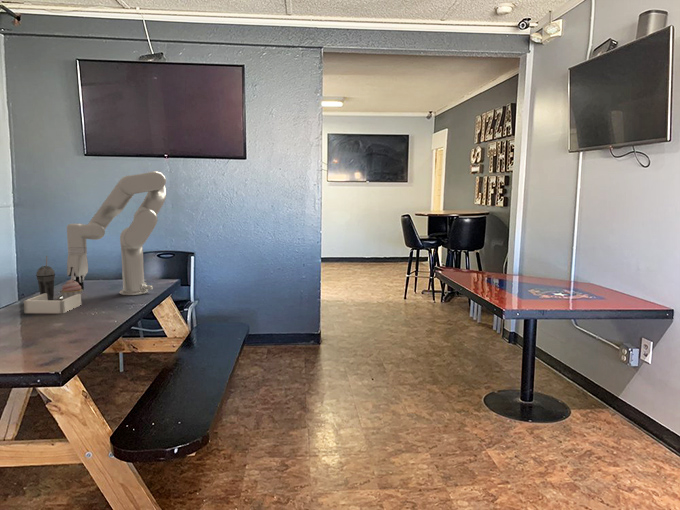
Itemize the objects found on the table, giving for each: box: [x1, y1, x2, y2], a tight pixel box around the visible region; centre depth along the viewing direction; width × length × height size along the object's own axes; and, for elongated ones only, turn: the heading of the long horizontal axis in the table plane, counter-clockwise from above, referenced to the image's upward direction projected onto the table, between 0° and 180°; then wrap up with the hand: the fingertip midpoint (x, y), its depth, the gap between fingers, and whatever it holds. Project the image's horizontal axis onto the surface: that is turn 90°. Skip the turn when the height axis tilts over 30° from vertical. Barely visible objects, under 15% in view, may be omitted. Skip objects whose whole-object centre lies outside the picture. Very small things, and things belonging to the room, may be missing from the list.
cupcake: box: [59, 278, 84, 300], centre depth 217 cm, size 9×9×10 cm
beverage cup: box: [35, 255, 56, 300], centre depth 216 cm, size 7×7×20 cm
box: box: [23, 293, 82, 314], centre depth 203 cm, size 15×14×5 cm
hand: (79, 290), depth 224 cm, fingers closed
